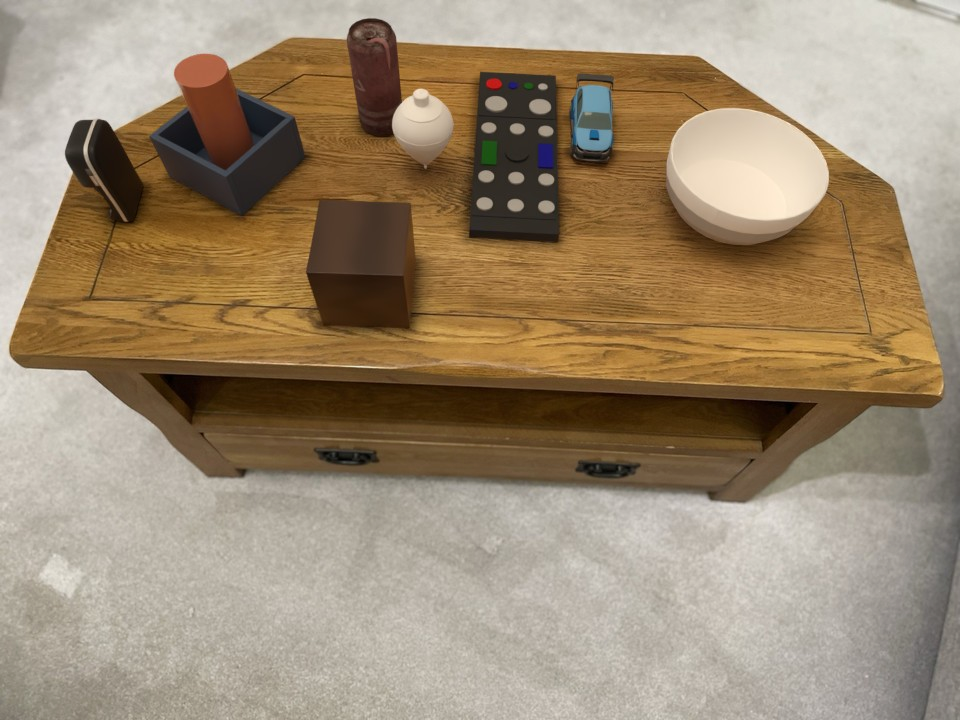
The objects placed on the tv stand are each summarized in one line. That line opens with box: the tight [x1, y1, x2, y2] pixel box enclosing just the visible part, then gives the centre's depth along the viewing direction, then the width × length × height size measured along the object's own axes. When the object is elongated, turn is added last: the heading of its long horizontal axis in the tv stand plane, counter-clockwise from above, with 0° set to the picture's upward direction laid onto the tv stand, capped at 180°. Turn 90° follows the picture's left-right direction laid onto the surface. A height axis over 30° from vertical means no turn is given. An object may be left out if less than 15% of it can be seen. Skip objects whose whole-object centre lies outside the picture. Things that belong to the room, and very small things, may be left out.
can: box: [346, 17, 403, 137], centre depth 87 cm, size 6×6×14 cm
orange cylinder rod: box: [173, 53, 255, 171], centre depth 82 cm, size 6×6×14 cm
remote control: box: [468, 71, 560, 243], centre depth 90 cm, size 11×30×2 cm, turn 177°
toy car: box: [568, 73, 615, 164], centre depth 91 cm, size 6×12×6 cm, turn 176°
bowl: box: [665, 107, 830, 246], centre depth 83 cm, size 19×19×9 cm
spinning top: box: [392, 88, 454, 170], centre depth 84 cm, size 8×8×12 cm
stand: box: [305, 199, 417, 329], centre depth 75 cm, size 10×10×10 cm
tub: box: [148, 87, 306, 217], centre depth 86 cm, size 13×13×7 cm
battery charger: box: [64, 118, 144, 223], centre depth 80 cm, size 7×4×11 cm, turn 3°
